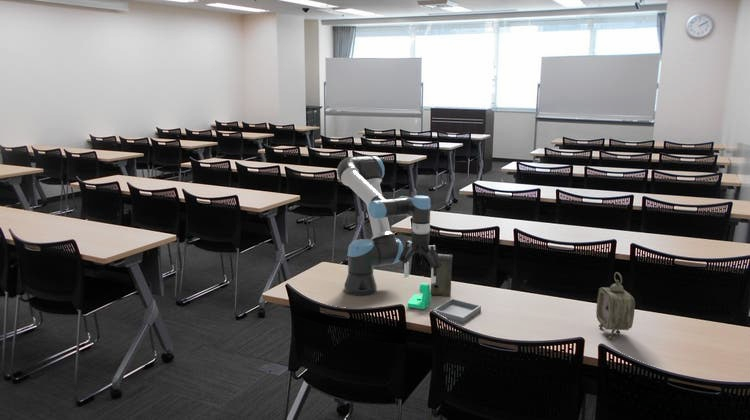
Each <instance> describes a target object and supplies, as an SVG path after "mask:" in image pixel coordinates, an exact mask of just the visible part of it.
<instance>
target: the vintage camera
mask: <svg viewBox="0 0 750 420" xmlns="http://www.w3.org/2000/svg"><path fill="white" fill-rule="evenodd" d="M437 254H438V256H439V259H440V262H441V264H442V267H441V268H439V269H438V275H437V276H436V282H435V283H433V284H431V283H430V293H431V296H433V297H434V296H438V297H439V296H440V297H451V295H452V293H451V292H452V272H453V271H452V270H453V254H451V253H450V254H449V253H447V254H445V253H444V254H443V253H437ZM431 256H432V255H431ZM432 257H433V256H432ZM432 268H433V267H432V266H431V269H432Z"/></svg>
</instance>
